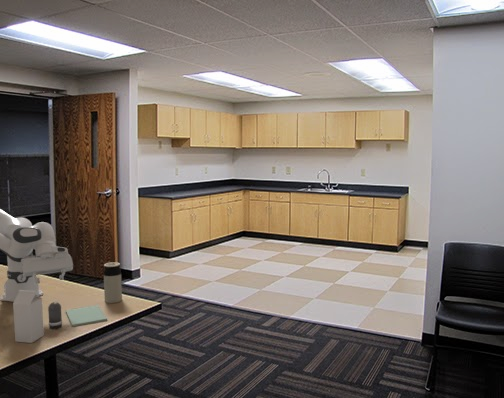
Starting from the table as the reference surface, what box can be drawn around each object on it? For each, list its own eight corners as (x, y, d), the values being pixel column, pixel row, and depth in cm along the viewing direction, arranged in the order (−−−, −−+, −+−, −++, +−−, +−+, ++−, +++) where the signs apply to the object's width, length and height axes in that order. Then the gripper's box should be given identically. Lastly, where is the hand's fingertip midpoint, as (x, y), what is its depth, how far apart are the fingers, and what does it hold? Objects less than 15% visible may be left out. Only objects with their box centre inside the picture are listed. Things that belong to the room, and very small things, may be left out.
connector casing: (48, 326, 189) (47, 301, 188) (61, 323, 191) (60, 299, 190) (49, 330, 184) (48, 305, 183) (63, 327, 187) (61, 303, 186)
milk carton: (32, 343, 172) (29, 294, 170) (15, 342, 173) (12, 293, 171) (44, 335, 179) (41, 288, 177) (27, 334, 180) (24, 287, 178)
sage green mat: (65, 311, 206) (65, 310, 205) (98, 306, 212) (98, 304, 212) (72, 326, 188) (72, 324, 188) (107, 320, 195) (107, 318, 195)
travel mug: (104, 304, 216) (102, 266, 214) (105, 299, 223) (103, 262, 221) (122, 302, 218) (120, 265, 216) (122, 297, 225) (120, 261, 223)
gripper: (20, 253, 198) (22, 280, 190) (71, 247, 207) (75, 273, 200) (20, 261, 202) (23, 288, 194) (70, 255, 212) (74, 281, 204)
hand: (49, 281), depth 197 cm, fingers open, 8 cm apart
